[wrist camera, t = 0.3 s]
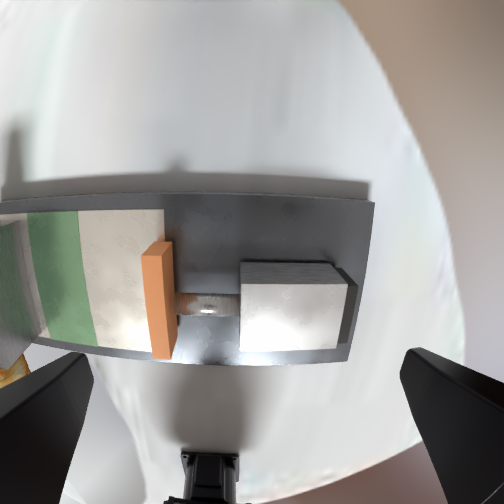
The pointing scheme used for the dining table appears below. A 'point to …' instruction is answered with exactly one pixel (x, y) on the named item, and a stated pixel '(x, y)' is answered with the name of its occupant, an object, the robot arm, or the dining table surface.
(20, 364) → the croissant
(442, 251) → the dining table surface
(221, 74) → the dining table surface
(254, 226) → the gauge board
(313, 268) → the threaded rod block
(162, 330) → the bar
